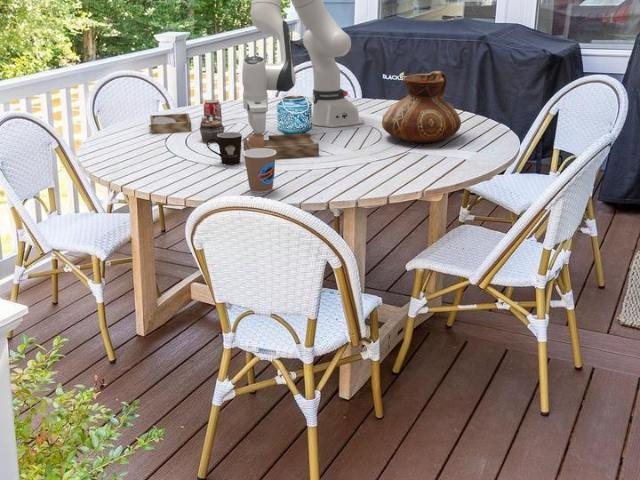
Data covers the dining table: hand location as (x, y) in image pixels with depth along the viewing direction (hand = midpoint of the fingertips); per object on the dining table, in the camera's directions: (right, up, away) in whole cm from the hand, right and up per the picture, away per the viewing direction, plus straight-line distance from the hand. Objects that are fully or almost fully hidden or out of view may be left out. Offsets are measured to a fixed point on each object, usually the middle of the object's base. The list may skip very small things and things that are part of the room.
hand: (256, 140), depth 292 cm
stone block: (-41, +10, +39) cm, 58 cm away
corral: (-39, +10, +39) cm, 56 cm away
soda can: (-21, +9, +35) cm, 41 cm away
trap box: (+9, -5, -1) cm, 10 cm away
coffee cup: (+5, -21, -43) cm, 48 cm away
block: (0, -3, -4) cm, 5 cm away
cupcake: (-19, +2, +18) cm, 26 cm away
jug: (+62, +2, +15) cm, 64 cm away
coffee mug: (-10, -9, -13) cm, 19 cm away
